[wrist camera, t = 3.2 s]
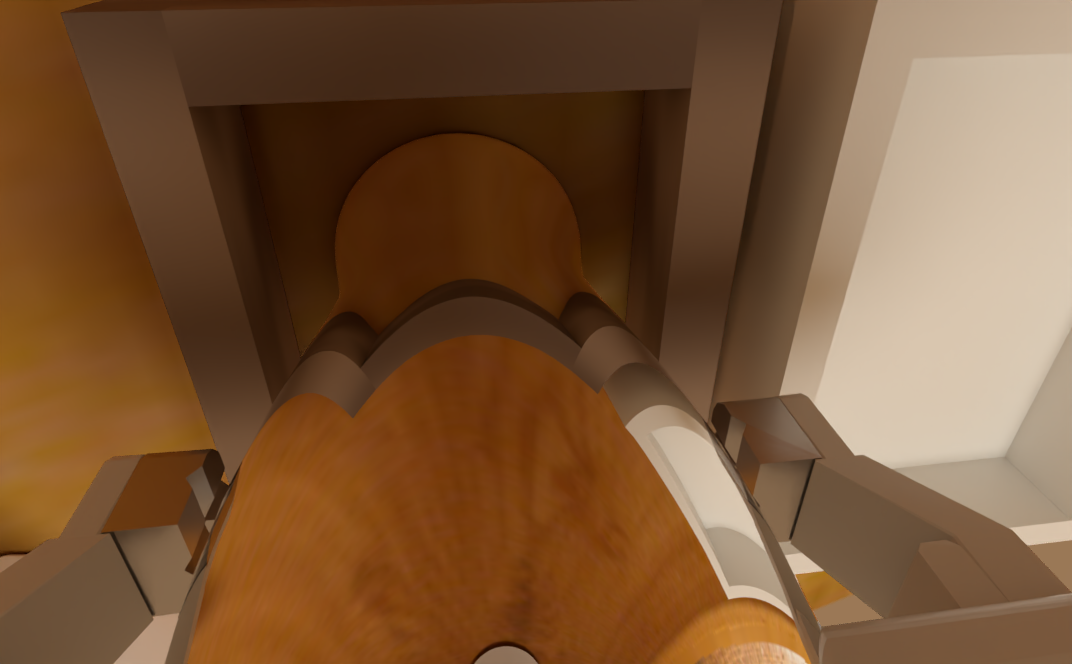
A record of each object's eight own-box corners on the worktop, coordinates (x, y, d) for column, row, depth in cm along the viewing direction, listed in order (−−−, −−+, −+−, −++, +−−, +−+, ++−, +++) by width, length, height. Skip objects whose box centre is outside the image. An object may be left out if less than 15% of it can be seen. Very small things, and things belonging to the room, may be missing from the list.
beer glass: (263, 274, 16) (-252, 1429, 4) (431, 43, 14) (457, 1079, 2) (481, 400, 20) (576, 1275, 7) (648, 228, 17) (1226, 1076, 5)
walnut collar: (131, -8, 13) (60, 12, 10) (721, -19, 14) (783, -3, 12) (269, 448, 19) (245, 528, 17) (664, 411, 21) (696, 481, 18)
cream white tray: (787, -21, 14) (878, -2, 12) (1264, -29, 16) (1454, -14, 13) (694, 496, 23) (732, 582, 20) (1007, 462, 24) (1085, 538, 22)
